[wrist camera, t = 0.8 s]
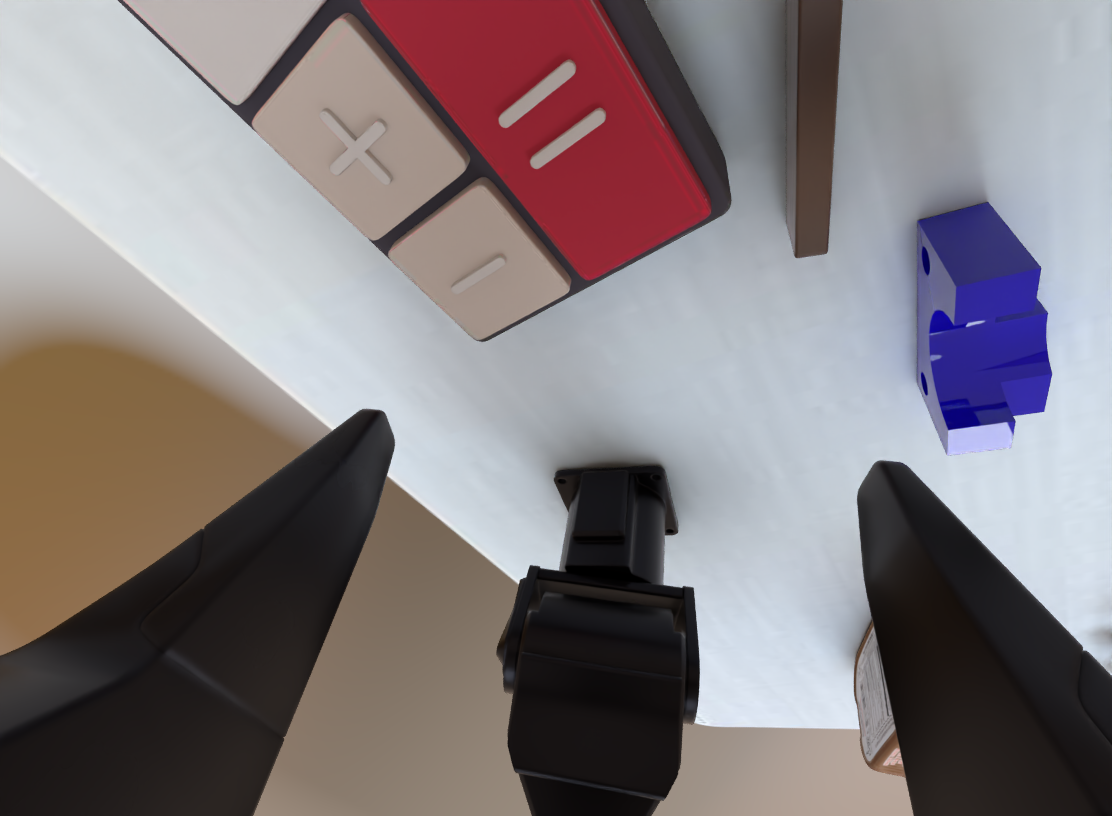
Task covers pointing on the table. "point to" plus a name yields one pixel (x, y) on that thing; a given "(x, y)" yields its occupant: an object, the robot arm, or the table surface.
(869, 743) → the tin
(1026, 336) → the cable holder
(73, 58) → the table surface
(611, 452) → the table surface
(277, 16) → the calculator
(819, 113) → the square wooden border
